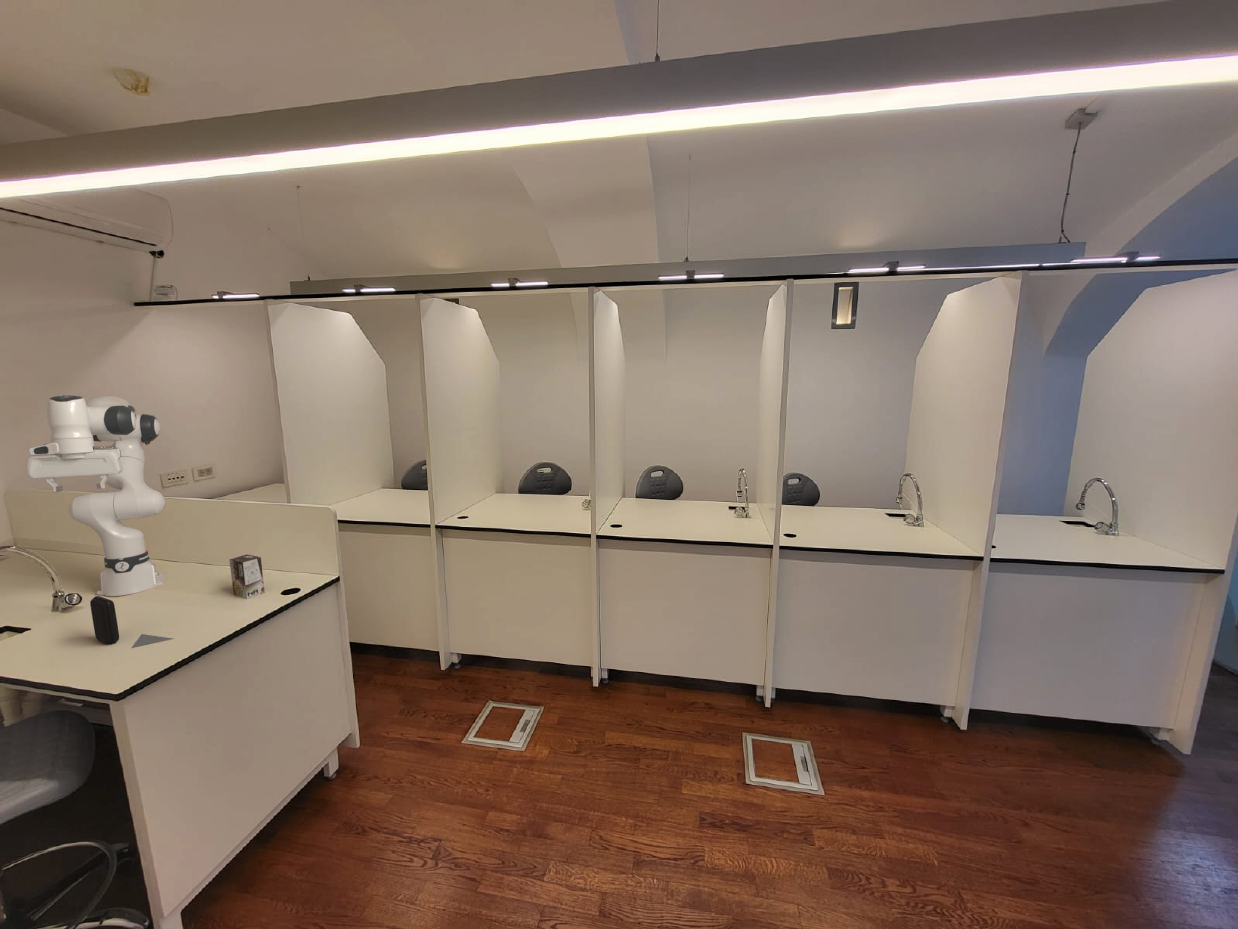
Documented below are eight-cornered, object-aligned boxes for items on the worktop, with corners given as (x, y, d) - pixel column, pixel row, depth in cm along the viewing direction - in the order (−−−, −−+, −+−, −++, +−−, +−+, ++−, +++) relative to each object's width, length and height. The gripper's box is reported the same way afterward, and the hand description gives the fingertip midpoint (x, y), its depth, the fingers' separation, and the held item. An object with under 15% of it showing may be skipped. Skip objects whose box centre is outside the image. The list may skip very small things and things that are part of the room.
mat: (153, 620, 162) (153, 618, 162) (234, 605, 174) (234, 604, 174) (132, 649, 144) (131, 647, 144) (224, 630, 156) (224, 628, 155)
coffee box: (266, 597, 181) (261, 557, 179) (247, 604, 176) (242, 562, 173) (252, 593, 185) (247, 553, 183) (233, 599, 179) (228, 558, 177)
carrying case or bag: (92, 640, 149) (85, 596, 147) (105, 636, 152) (98, 592, 150) (109, 647, 145) (101, 602, 143) (122, 643, 147) (115, 598, 145)
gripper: (123, 444, 158) (128, 485, 159) (31, 448, 147) (38, 491, 149) (116, 446, 152) (122, 488, 154) (20, 449, 142) (27, 495, 143)
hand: (80, 490), depth 151 cm, fingers open, 8 cm apart
